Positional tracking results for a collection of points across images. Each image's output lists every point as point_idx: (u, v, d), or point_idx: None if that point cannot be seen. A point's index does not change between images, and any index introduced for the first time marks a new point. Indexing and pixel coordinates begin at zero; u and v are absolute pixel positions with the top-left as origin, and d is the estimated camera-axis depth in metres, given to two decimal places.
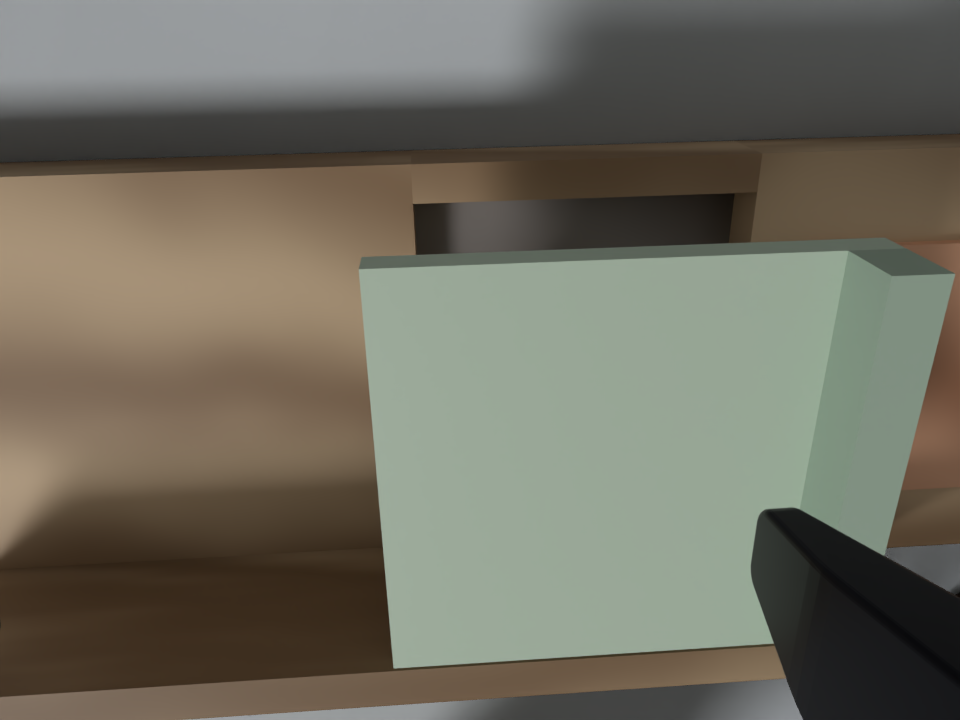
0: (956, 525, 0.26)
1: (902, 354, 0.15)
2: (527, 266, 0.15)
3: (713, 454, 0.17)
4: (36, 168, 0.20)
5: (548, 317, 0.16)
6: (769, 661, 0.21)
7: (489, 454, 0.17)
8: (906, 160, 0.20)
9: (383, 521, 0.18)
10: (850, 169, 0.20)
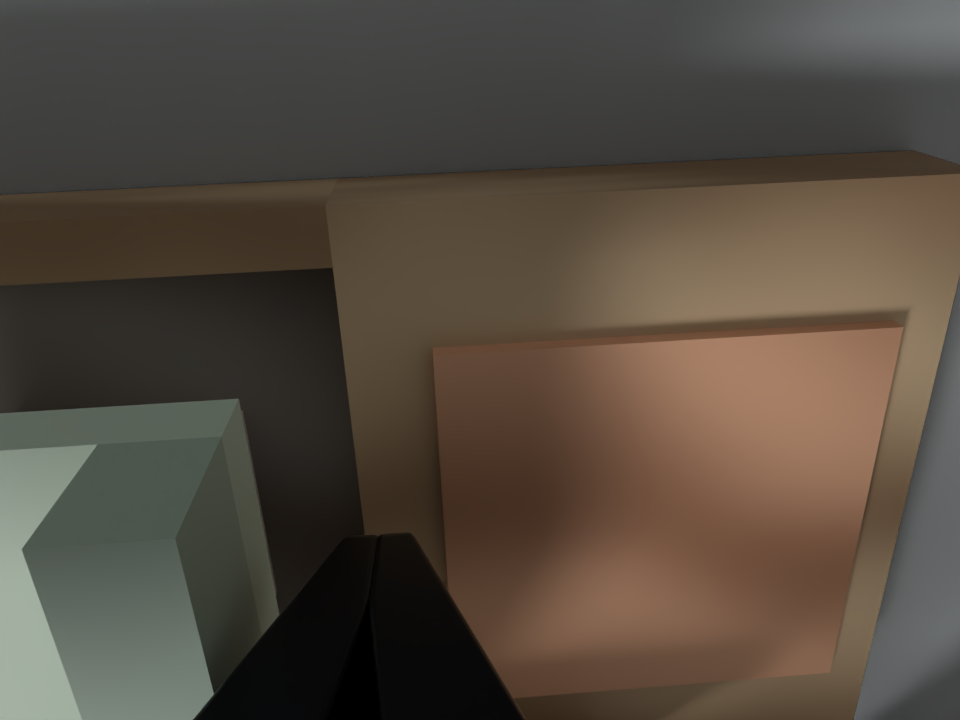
0: None
1: (135, 688, 0.07)
2: None
3: None
4: None
5: None
6: None
7: None
8: (574, 211, 0.12)
9: None
10: (482, 228, 0.12)
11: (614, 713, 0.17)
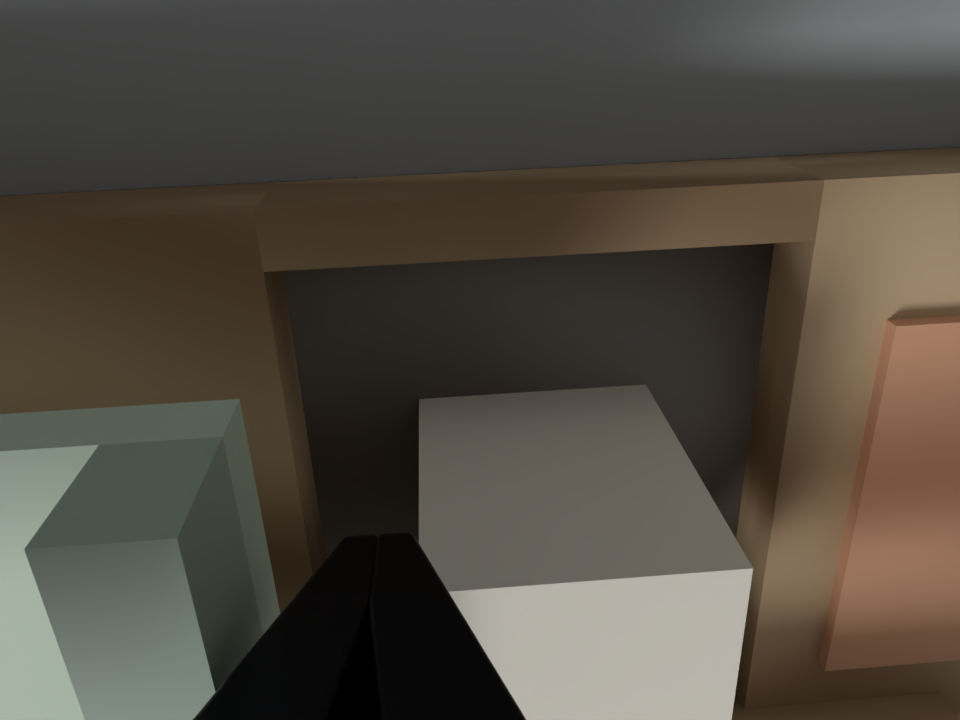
0: None
1: (137, 687, 0.07)
2: None
3: None
4: None
5: None
6: None
7: None
8: None
9: None
10: None
11: None
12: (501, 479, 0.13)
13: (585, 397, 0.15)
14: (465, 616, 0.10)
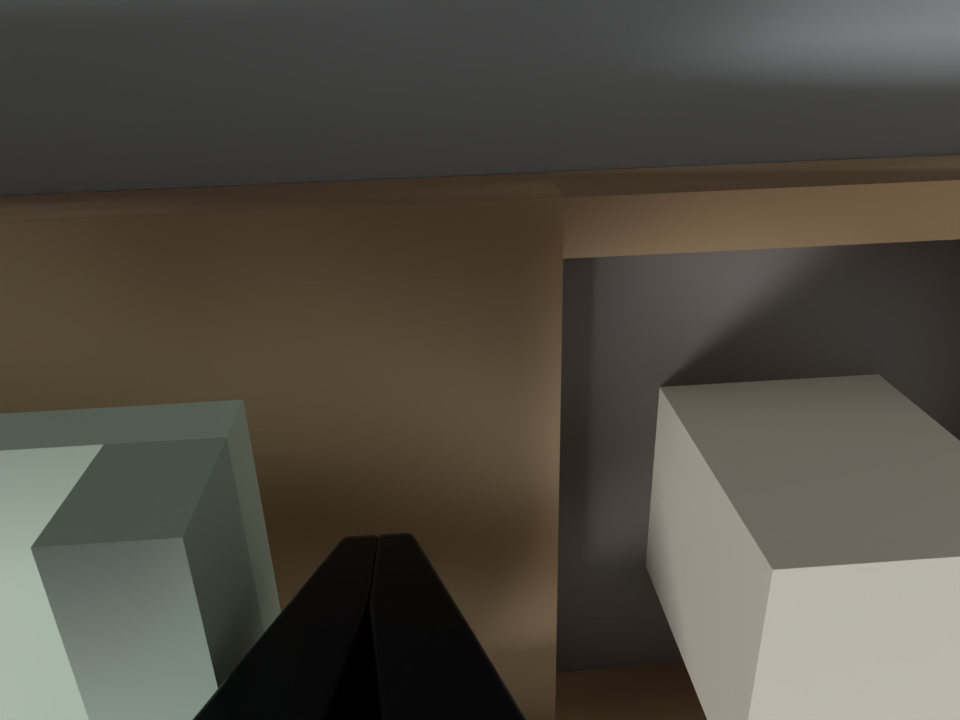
0: None
1: (140, 686, 0.07)
2: None
3: None
4: None
5: None
6: None
7: None
8: None
9: None
10: None
11: None
12: (789, 463, 0.13)
13: (825, 386, 0.15)
14: (809, 592, 0.11)
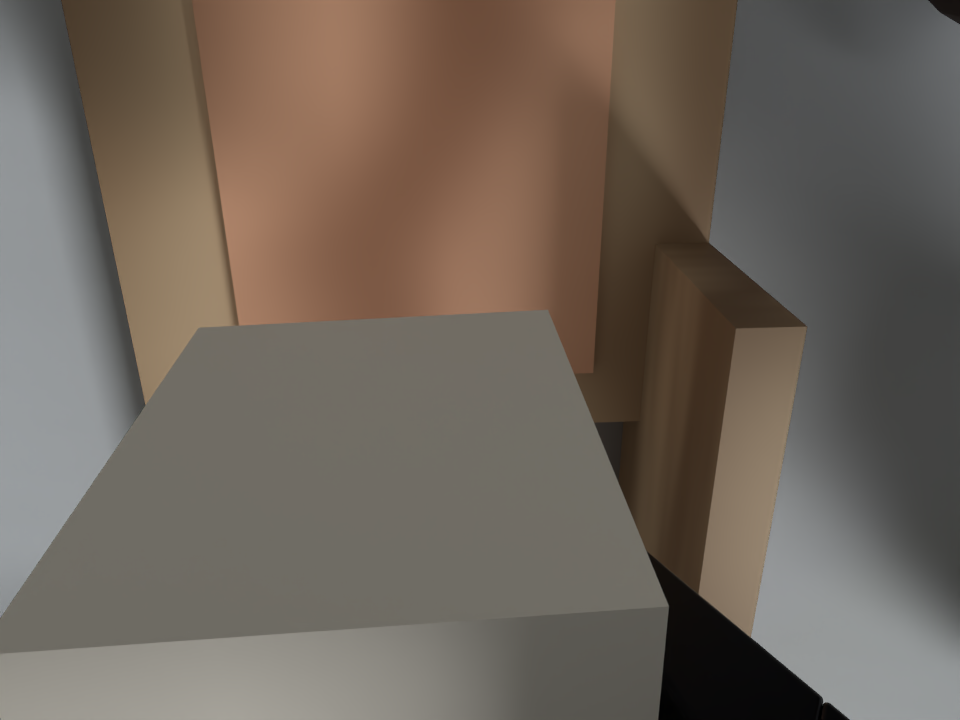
0: (694, 65, 0.16)
1: None
2: None
3: None
4: None
5: None
6: (731, 554, 0.15)
7: None
8: (133, 283, 0.17)
9: None
10: (154, 344, 0.18)
11: (646, 224, 0.17)
12: None
13: None
14: None
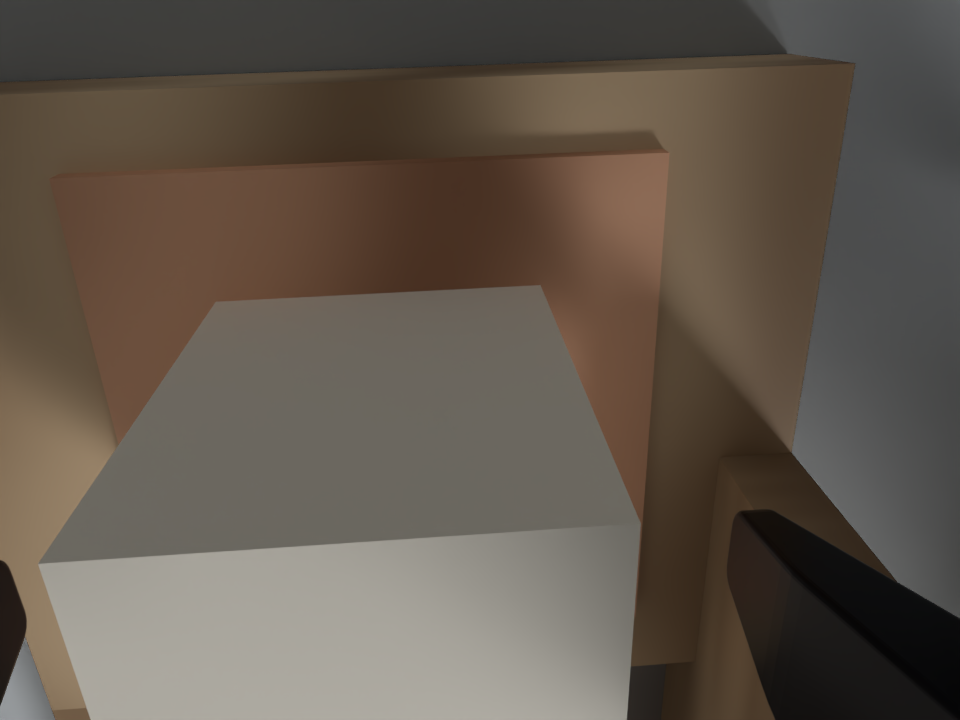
0: (777, 234, 0.11)
1: None
2: None
3: None
4: None
5: None
6: None
7: None
8: (7, 535, 0.12)
9: None
10: (43, 605, 0.13)
11: (707, 434, 0.13)
12: None
13: None
14: None
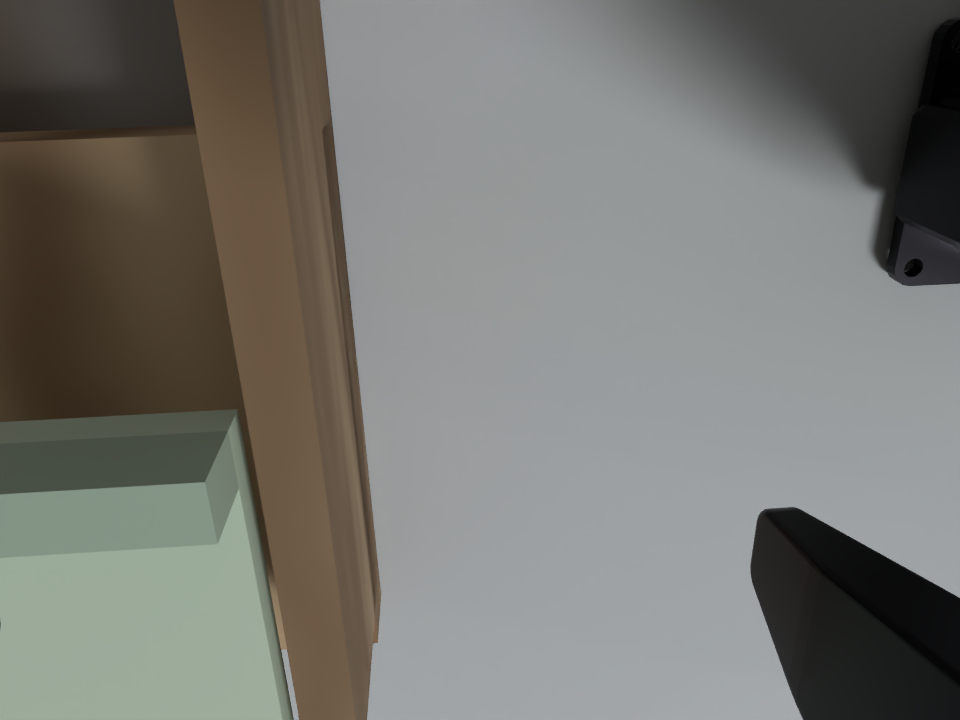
0: None
1: None
2: None
3: None
4: None
5: None
6: None
7: None
8: None
9: None
10: None
11: None
12: None
13: None
14: None
